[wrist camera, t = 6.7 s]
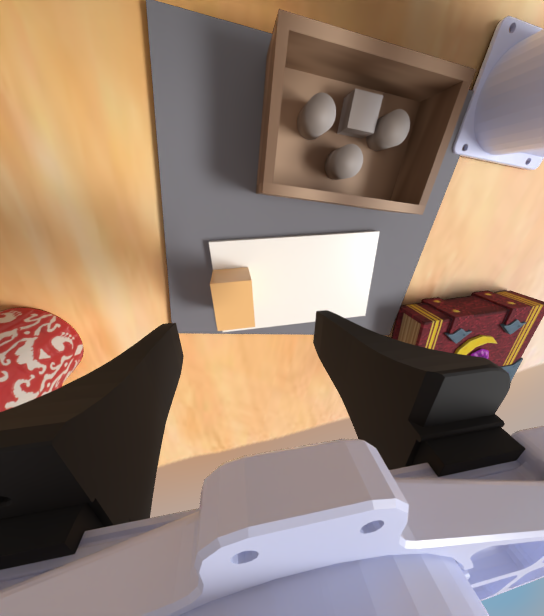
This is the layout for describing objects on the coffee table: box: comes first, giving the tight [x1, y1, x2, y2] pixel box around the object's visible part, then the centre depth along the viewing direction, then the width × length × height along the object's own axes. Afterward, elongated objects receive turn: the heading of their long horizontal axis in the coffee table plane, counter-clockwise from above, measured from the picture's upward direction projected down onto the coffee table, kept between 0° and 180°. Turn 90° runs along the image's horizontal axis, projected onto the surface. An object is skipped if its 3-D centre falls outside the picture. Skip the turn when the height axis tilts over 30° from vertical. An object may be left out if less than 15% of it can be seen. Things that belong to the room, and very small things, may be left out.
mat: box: [146, 0, 474, 335], centre depth 20 cm, size 24×22×1 cm
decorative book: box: [392, 291, 544, 380], centre depth 27 cm, size 11×16×5 cm
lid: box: [209, 231, 380, 332], centre depth 20 cm, size 15×9×4 cm, turn 92°
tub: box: [256, 9, 476, 215], centre depth 16 cm, size 12×8×4 cm, turn 83°
